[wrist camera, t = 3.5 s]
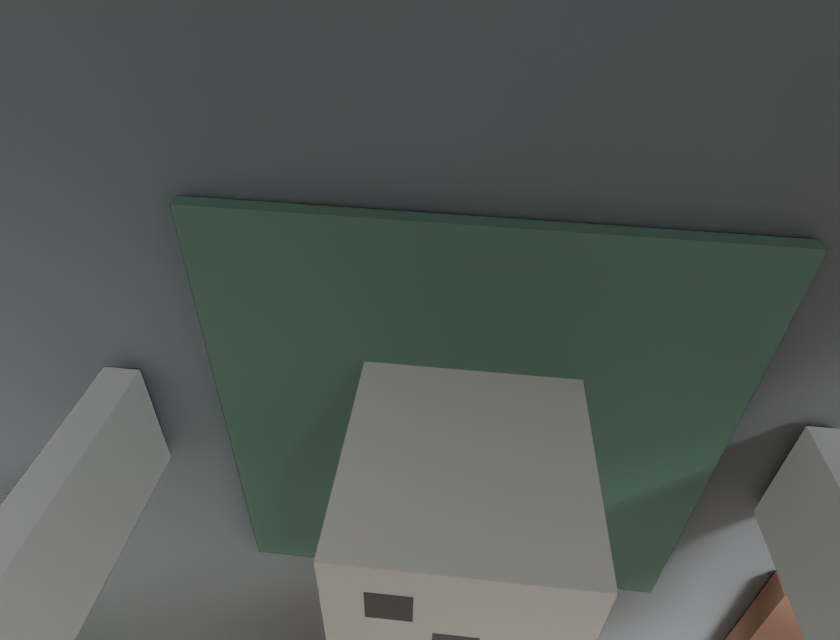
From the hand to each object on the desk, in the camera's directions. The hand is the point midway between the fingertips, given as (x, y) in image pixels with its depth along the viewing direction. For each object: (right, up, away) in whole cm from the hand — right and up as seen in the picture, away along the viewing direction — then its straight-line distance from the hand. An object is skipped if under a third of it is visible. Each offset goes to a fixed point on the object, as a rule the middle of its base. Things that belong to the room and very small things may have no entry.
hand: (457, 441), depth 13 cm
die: (0, 0, 0) cm, 0 cm away
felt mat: (0, 0, 0) cm, 0 cm away
